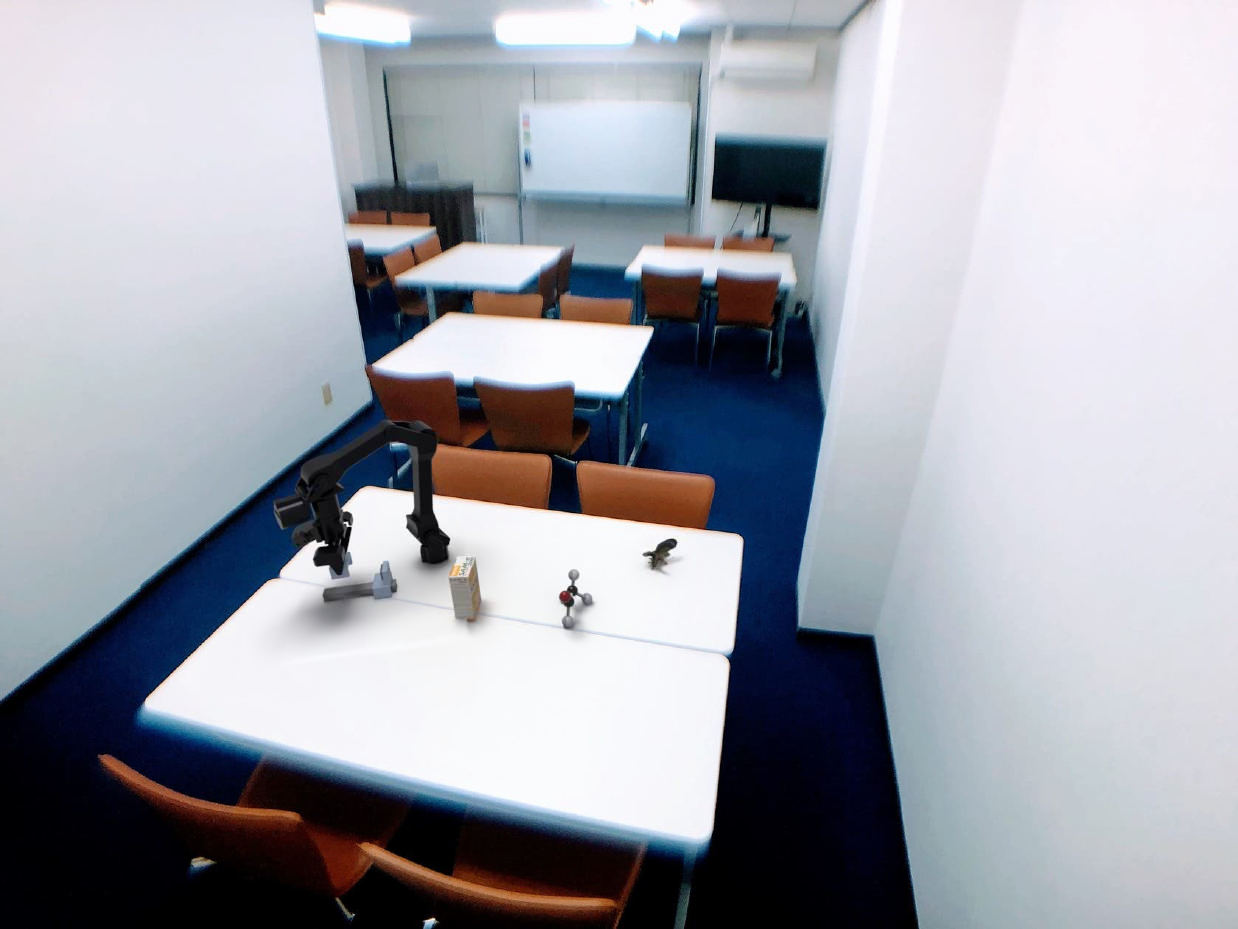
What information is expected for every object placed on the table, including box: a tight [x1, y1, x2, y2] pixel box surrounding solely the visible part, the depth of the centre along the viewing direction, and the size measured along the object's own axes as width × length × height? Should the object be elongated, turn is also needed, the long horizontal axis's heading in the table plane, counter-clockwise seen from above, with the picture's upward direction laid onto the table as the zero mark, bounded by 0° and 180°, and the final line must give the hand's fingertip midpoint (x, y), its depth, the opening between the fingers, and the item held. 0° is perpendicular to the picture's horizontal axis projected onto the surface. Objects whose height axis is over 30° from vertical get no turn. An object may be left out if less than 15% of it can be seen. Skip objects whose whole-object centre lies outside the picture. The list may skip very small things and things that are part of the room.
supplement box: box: [448, 555, 482, 622], centre depth 163 cm, size 8×5×13 cm, turn 179°
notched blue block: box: [328, 551, 353, 580], centre depth 165 cm, size 4×6×7 cm, turn 11°
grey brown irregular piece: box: [641, 537, 679, 570], centre depth 180 cm, size 8×7×9 cm
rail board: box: [322, 578, 398, 603], centre depth 171 cm, size 18×9×3 cm, turn 102°
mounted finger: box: [372, 560, 394, 600], centre depth 170 cm, size 4×6×7 cm, turn 12°
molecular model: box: [558, 569, 593, 628], centre depth 162 cm, size 8×12×11 cm
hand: (341, 566), depth 166 cm, fingers closed on notched blue block, 6 cm apart
